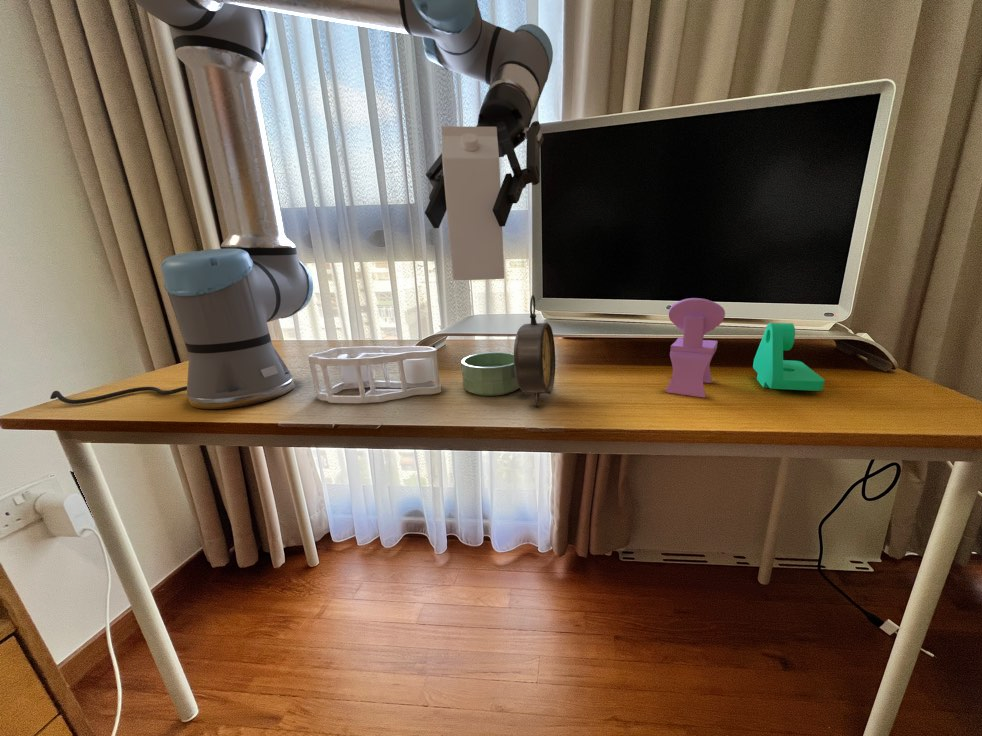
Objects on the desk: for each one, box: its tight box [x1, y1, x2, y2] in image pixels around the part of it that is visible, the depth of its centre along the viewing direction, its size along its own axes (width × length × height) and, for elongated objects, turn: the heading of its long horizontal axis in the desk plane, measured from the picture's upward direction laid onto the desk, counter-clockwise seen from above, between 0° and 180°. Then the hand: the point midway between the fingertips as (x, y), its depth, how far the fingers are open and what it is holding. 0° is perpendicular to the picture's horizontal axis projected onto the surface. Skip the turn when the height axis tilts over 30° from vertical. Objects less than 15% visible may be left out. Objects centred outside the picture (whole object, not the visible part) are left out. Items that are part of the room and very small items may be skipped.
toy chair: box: [665, 297, 726, 398], centre depth 70 cm, size 8×9×15 cm
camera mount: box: [752, 322, 826, 392], centre depth 71 cm, size 12×8×10 cm, turn 168°
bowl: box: [460, 351, 520, 397], centre depth 74 cm, size 10×10×5 cm
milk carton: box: [441, 125, 505, 281], centre depth 59 cm, size 7×7×19 cm
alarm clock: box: [513, 294, 556, 408], centre depth 66 cm, size 11×5×16 cm, turn 168°
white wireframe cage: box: [308, 345, 442, 404], centre depth 72 cm, size 20×11×7 cm, turn 85°
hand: (464, 219), depth 57 cm, fingers closed on milk carton, 9 cm apart
